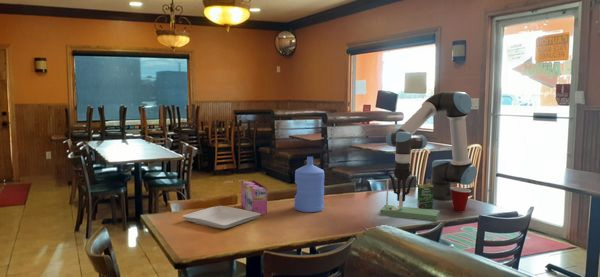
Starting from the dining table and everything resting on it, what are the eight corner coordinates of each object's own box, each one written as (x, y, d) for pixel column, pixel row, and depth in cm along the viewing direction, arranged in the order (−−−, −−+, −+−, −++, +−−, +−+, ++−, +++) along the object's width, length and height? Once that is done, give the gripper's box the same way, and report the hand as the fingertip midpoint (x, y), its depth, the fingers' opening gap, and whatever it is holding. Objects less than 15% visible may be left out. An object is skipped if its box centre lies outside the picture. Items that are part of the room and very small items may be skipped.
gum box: (239, 204, 258) (240, 180, 257) (253, 203, 261) (254, 179, 260) (252, 215, 236) (252, 188, 235) (267, 214, 239) (267, 187, 238)
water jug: (329, 209, 252) (330, 157, 249) (310, 214, 240) (311, 160, 238) (308, 204, 262) (308, 154, 260) (288, 209, 251) (289, 156, 248)
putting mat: (385, 209, 254) (385, 204, 254) (439, 215, 243) (439, 210, 243) (380, 214, 243) (380, 209, 243) (436, 220, 232) (436, 215, 232)
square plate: (225, 233, 207) (225, 224, 206) (180, 223, 221) (180, 215, 221) (261, 220, 230) (262, 212, 229) (219, 211, 244) (219, 204, 244)
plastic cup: (471, 213, 248) (472, 191, 247) (450, 212, 250) (451, 189, 249) (468, 208, 259) (469, 187, 258) (448, 207, 261) (449, 186, 260)
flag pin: (386, 205, 253) (387, 179, 251) (387, 205, 252) (388, 179, 251) (384, 206, 249) (385, 180, 248) (386, 206, 249) (387, 180, 248)
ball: (391, 212, 247) (392, 204, 247) (399, 213, 246) (400, 206, 245) (390, 213, 244) (391, 206, 243) (397, 215, 242) (398, 207, 242)
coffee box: (418, 208, 257) (419, 184, 256) (416, 207, 260) (417, 183, 259) (432, 208, 257) (433, 185, 256) (431, 207, 260) (432, 184, 259)
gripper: (388, 162, 240) (386, 207, 242) (414, 163, 235) (412, 210, 237) (391, 160, 247) (389, 204, 249) (416, 162, 242) (414, 207, 244)
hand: (400, 207), depth 243 cm, fingers closed
